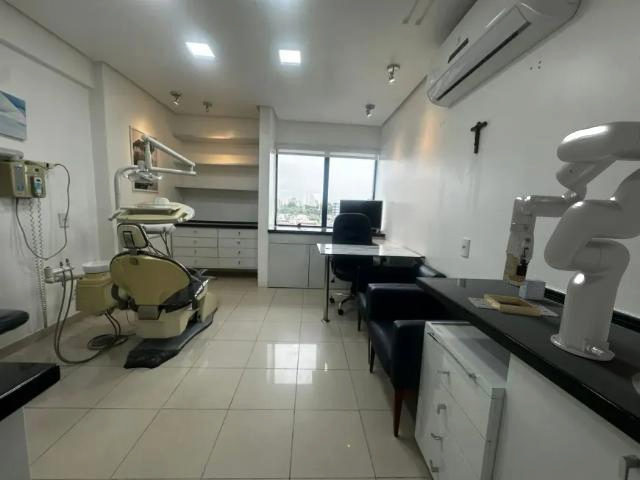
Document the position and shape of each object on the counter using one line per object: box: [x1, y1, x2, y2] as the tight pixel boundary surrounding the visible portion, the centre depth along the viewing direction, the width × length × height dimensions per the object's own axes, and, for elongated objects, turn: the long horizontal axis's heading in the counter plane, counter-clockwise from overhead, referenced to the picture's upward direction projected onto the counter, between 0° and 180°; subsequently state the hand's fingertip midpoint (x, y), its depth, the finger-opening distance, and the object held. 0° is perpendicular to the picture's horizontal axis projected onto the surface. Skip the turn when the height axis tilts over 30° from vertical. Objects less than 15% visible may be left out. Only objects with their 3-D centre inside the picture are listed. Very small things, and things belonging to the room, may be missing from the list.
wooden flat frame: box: [467, 293, 559, 318], centre depth 107 cm, size 14×28×2 cm, turn 79°
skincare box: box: [501, 253, 529, 287], centre depth 105 cm, size 6×4×12 cm
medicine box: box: [518, 278, 547, 301], centre depth 121 cm, size 8×4×9 cm, turn 84°
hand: (514, 272), depth 105 cm, fingers closed on skincare box, 7 cm apart
